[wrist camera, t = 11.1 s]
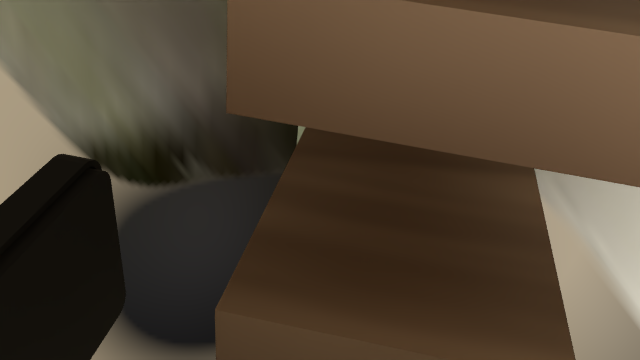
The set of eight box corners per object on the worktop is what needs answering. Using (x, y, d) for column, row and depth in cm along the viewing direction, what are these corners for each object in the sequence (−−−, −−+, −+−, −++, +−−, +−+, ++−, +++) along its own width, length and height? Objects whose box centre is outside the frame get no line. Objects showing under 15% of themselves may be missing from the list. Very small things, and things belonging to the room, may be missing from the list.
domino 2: (337, 62, 17) (214, 309, 8) (516, 90, 16) (580, 387, 8) (332, 113, 17) (216, 384, 9) (502, 141, 17) (546, 459, 8)
